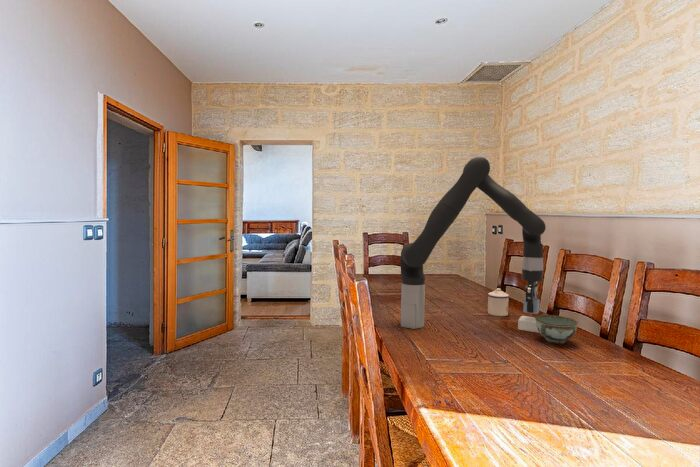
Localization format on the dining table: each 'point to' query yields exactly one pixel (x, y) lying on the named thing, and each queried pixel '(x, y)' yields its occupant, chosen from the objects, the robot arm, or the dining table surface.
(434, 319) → the dining table surface
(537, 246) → the robot arm
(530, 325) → the slab
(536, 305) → the cube
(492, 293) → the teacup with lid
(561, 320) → the bowl
